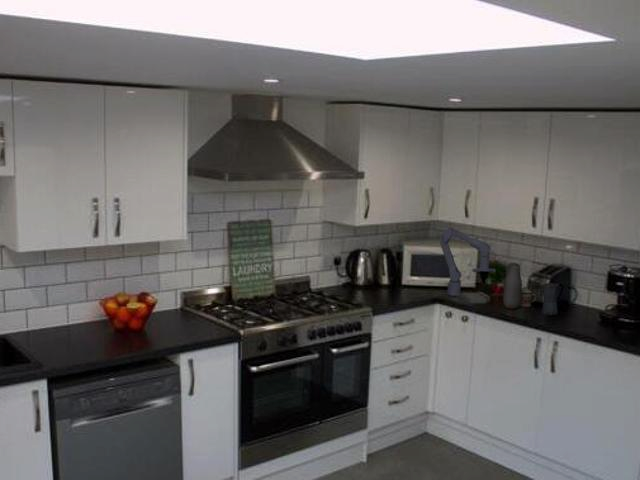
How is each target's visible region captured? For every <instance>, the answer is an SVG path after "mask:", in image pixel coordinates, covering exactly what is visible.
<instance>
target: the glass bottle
mask: <svg viewBox="0 0 640 480" xmlns="http://www.w3.org/2000/svg"><path fill="white" fill-rule="evenodd" d="M506 269H507V270H506V275H505V277H504V282H503V297H502V298H503V299H502V300H503V306H504V308H506V309H511V310H515V309H517V308H519V307H520V306H519V305H520V302H521V291H522V288H523V282H522V277H521V265H520V264H519V263H517V262H510V263H508V265H507V266H506Z"/></svg>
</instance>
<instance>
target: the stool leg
mask: <svg viewBox="0 0 640 480" xmlns="http://www.w3.org/2000/svg"><path fill="white" fill-rule="evenodd" d="M476 293H477V294H479V295H480V296H482V297H484V298H485V299H486V303H487V302H488V303H489V302H491V296H489V295H488V294H487V293H484V292H483V291H479V290H478V291H476Z"/></svg>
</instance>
